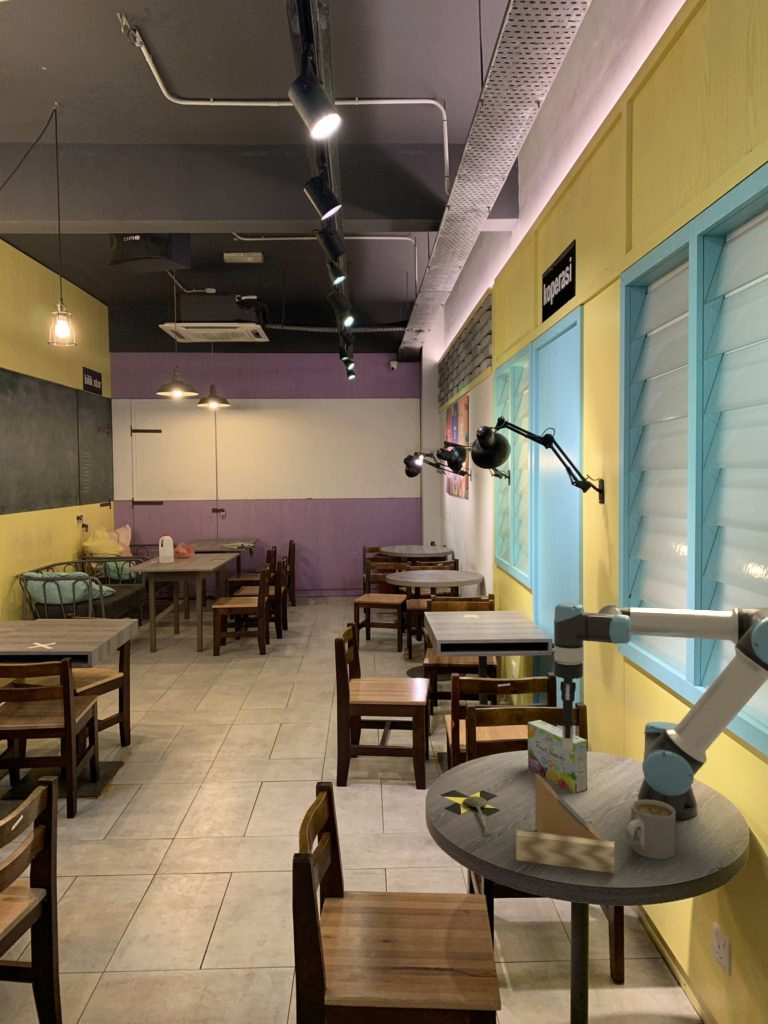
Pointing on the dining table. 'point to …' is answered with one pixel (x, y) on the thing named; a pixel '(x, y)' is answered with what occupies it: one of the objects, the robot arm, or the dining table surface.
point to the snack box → (557, 756)
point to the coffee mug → (652, 829)
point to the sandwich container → (558, 814)
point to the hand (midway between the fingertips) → (567, 748)
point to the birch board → (565, 850)
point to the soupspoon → (478, 803)
